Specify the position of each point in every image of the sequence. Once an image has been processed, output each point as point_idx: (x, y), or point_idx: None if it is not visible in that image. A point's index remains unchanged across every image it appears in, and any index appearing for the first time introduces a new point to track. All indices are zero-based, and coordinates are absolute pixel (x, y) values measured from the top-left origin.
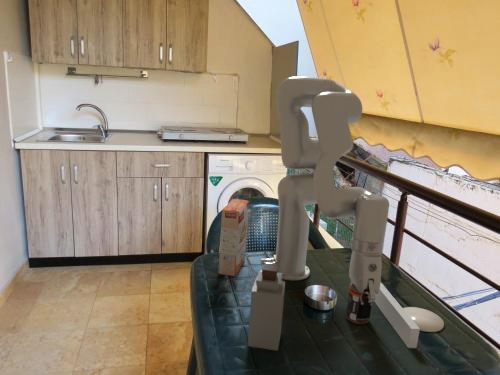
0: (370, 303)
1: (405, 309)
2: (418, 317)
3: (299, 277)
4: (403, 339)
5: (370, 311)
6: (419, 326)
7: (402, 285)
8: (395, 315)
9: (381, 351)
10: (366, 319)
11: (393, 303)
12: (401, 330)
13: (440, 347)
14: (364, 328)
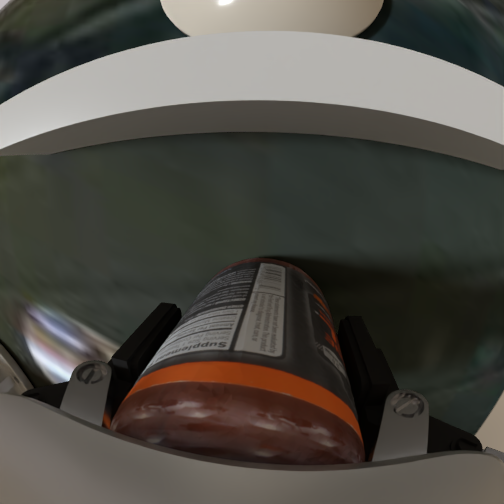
0: (442, 431)
1: (179, 6)
2: None
3: (26, 389)
4: (471, 159)
5: (372, 342)
6: (358, 6)
7: (21, 20)
8: (393, 126)
9: (494, 296)
10: (329, 309)
11: (290, 78)
12: (465, 152)
13: (479, 35)
14: (352, 310)
